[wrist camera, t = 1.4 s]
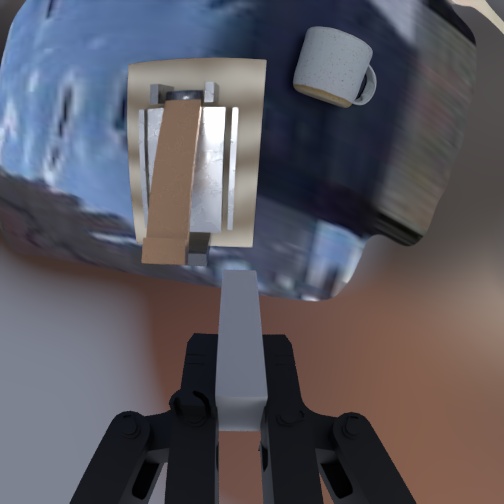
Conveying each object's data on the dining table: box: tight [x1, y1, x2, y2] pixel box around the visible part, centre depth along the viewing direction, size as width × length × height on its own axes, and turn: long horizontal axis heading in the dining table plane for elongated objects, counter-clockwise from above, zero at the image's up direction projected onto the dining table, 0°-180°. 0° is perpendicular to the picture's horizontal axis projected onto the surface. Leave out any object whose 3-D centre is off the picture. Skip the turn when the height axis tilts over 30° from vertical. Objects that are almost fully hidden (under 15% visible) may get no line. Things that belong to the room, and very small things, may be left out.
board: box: [127, 58, 267, 247], centre depth 32 cm, size 24×16×2 cm, turn 176°
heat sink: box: [139, 82, 239, 266], centre depth 29 cm, size 20×11×6 cm, turn 176°
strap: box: [142, 90, 204, 265], centre depth 23 cm, size 17×4×2 cm
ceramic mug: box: [293, 26, 376, 108], centre depth 25 cm, size 11×8×8 cm
